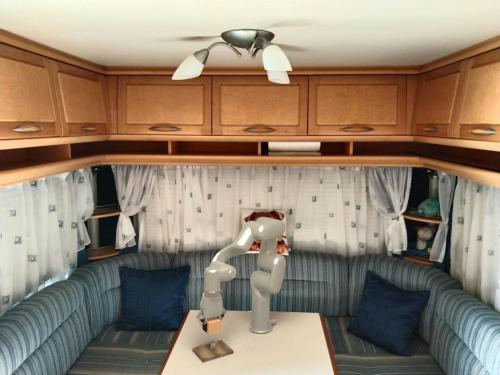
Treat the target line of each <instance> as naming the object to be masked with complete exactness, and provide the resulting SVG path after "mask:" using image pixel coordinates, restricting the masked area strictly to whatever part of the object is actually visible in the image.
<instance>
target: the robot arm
mask: <svg viewBox="0 0 500 375" xmlns="http://www.w3.org/2000/svg"><path fill="white" fill-rule="evenodd" d="M285 232H286V223H285V222H284V221H283V220H282V219H281V220H280V219H276V218H272V217H267V216H260V217H257V219H256V221H255V220H249V221H247V222H246V223H245V224H244V225H243V227H242V228H241V230H240V231H239V233H238V234H237V236H236V237H235V239H234V241H233V242H232V243H231V244H229V245H228V244H227V245H226V246H225V247H223V248H222V249H220V250H219V251H218V252H217V253H216V254H215V256H214V258H212V260H211V262H210V264H209V266H207V267H205V269H204V271H203V272H204V276H203V277H204V278H203V280H204V282H203V283H204V284H203V293H204V296H203V295H202V296H201V299H202V300H200V303H201V308H199V310H200V311H199V313H198V314H197V315H196V319H197V320H198V321H199V322H200V321H201V322H202V325H201V326H202V327H201V329H202V330H203V331H204V333H206V332H207V324H206V322H207V320H208V318H212V317H216V316H217V318H218V319H220V320H221V322H222V320H223V318H224V317H225V315H226V314H227V312H228V311H227V309H226V308H224V304H223V297H222V294H221V293H222V292H223V291H224V290H223V288H221V283H222V282H229V281H232V280H233V279H235V278H236V276H237V270H236V268H235V267H234V266H233V265H231V264H227V263H226V262H227V261H228V260H230V259H231V258H233V257H237V256H241V255H245V254H247V253H248V252H249V250H250V248H251V247H252V245H253V244H254V242H255V241H256V240H260V241H261V242H260V247H259V252H258V256H257V262H256V263H257V266H258V267H259V268H261V269H264V270H266V271H263V270H255V271H253V272H252V273H251V275H250V278H249V285H250V289H251V323H249V325H248V330H249V331H250V332H252V333H254V334H258V335H259V334H260V335H261V334H267V333H270V332H271V331H272V330H273V325H272V324H275V323H277V322H278V319H277V318H272V317H271V316H270V315H271V314H270V313H271V312H270V311H271V310H270V308H271V302H270V301H271V295H273V294H274V295H276V294H279V292H280V290H281V289H282V286H283V280H284V277H285V271H286V269H287V268H286V267H287V261H286V258H285V256H284V255H283V254H281V253H277V248H278V247H277V246H278V239H277V238H280V237H282V236H283V235H284V234H285ZM267 271H270V273H269V272H267ZM270 294H271V295H270ZM201 316H203V318H201ZM201 322H200V323H201Z"/></svg>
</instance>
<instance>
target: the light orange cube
mask: <svg viewBox="0 0 500 375" xmlns="http://www.w3.org/2000/svg"><path fill="white" fill-rule="evenodd" d="M206 324H207V332H205V333H206V334H207V335H213V334H216V333H220V332H222V321H221V320H220V319H218V318H217V317H212V318H208V320H207V322H206Z"/></svg>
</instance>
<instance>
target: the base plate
mask: <svg viewBox="0 0 500 375" xmlns="http://www.w3.org/2000/svg"><path fill="white" fill-rule="evenodd" d="M191 349H192V350H191V351H192V352H193V353H194V355H196V357H197V358H198V359H199V360H200V361H201V362H202V363H206V362H210V361H212V360H216V359H219V358H220V359H221V358H222V357H223V358H224V357H226V356H228V355H229V356H230V355H233V354H234V352H235V351H234V350H233V348H231V346H229V345H228V344H227V343H226V342H225V341H224V340H222V339H220V340H216V341H214V340H213V341H212V340H211V341H209V343H207V344H203V345H199V346H195V347H191Z"/></svg>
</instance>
